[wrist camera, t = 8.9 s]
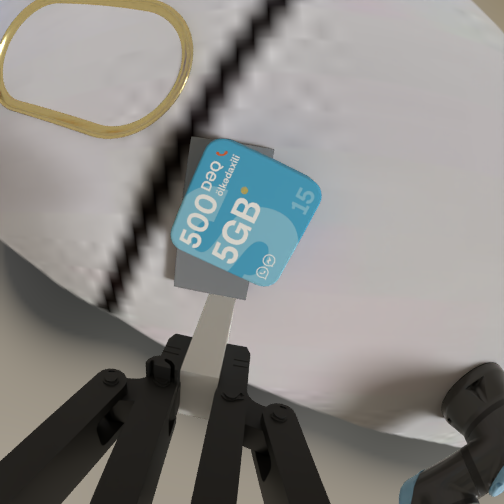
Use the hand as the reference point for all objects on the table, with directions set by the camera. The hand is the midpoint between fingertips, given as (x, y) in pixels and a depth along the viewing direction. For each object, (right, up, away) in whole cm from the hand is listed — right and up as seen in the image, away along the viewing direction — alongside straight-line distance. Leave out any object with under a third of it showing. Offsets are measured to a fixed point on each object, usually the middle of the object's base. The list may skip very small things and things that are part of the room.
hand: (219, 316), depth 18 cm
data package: (+7, +5, +15) cm, 17 cm away
